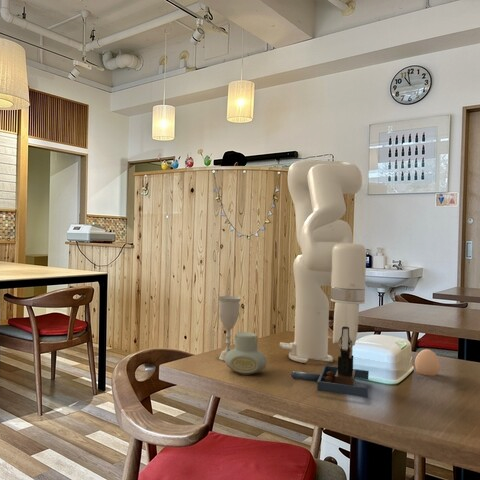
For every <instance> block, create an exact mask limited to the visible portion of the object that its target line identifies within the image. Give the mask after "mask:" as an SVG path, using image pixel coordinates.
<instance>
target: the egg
mask: <svg viewBox="0 0 480 480" xmlns="http://www.w3.org/2000/svg"><path fill="white" fill-rule="evenodd" d="M414 368H415V370H416V372H417V373H418V374H420V375H424V376H429V377H430V376H432V377H434V376H437V375H438V374H439V372H440V370H441V363H440V359H439V357H438V355H437V354H436V353H435V352H434V351H433V350H431V349H429V348H425V349H422V350H421V351H419V353H418V354H417V355H416V357H415V360H414Z"/></svg>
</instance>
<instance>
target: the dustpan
mask: <svg viewBox="0 0 480 480" xmlns="http://www.w3.org/2000/svg"><path fill="white" fill-rule="evenodd" d="M337 370H338V366H334V365H323V367H322V370H321V373H320V374H319V373H311V372H310V373H309V372H304V371H297V370H295V371H292V372H291V374H290V376H291V379H293V381H294V380H295V381H297V380H302V381H308V382H317V387H316V388H317V389H316V390H317V391H318V392H326V393H333V394H339V395H345V396H353V397H359V398H364V399H365V398H369V394H368V393H369V387H366V386H365V387H364V386H358V385H357V386H356V385H354V386H351V385H344V384H337V383H329V382H322V381H323V379H324V376H325V373H326V372H328V371H331V372H334V373H335V375H336V372H337ZM353 370H355V379H361V380H367V381H368V380H369V378H370V377H369V376H370V375H369V374H370V371H369V370H365V369H357V368H353Z"/></svg>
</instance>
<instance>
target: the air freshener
mask: <svg viewBox="0 0 480 480" xmlns="http://www.w3.org/2000/svg"><path fill="white" fill-rule="evenodd" d="M258 337H259V336H258V334H256V333H254V332H249V331H239V332H236V333H235V334H234V348H232V349H231V350H230V351H229V352H228V353H227V354H226V356H225V361H224V363H225V365H226V366H227V368H229V369H230V370H231V371H233V372H234V373H237V374H239V375H242V376H251V375H253V374H257V373H261V372H262V371H263V370H264V369H265V368H266V366H267V364H268V363H267V362H268V360H267V358H266V356H265V354H264V353H263V352H261V351H260V350H258Z"/></svg>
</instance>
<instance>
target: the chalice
mask: <svg viewBox="0 0 480 480" xmlns="http://www.w3.org/2000/svg"><path fill="white" fill-rule="evenodd" d="M217 299H218V315H219V316H218V317H219V319H220V322H221V324H222V327H223V328H224V329H225V330H226V334H225V339H226V340H225V341H224V343H225V345H226V347H225V349H224V350H222V351H221V352H220V354H219V355H220V356H219V357H218V360H220V361H224V362H225V356H226V354H227V353H228V352H229V351H230V350H232V349H231V348H230V346H231V343H232V342H231V340H230V339H231V337H232V335H231V330H232V329H234V327H235V326H236V323H237V321H238V319H239V316H240V302H241V299H242V297H241V296H233V295H220V296H217Z"/></svg>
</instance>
